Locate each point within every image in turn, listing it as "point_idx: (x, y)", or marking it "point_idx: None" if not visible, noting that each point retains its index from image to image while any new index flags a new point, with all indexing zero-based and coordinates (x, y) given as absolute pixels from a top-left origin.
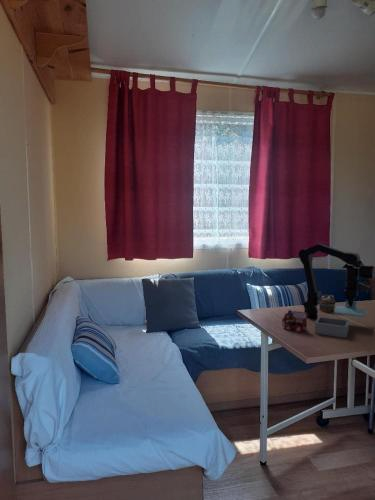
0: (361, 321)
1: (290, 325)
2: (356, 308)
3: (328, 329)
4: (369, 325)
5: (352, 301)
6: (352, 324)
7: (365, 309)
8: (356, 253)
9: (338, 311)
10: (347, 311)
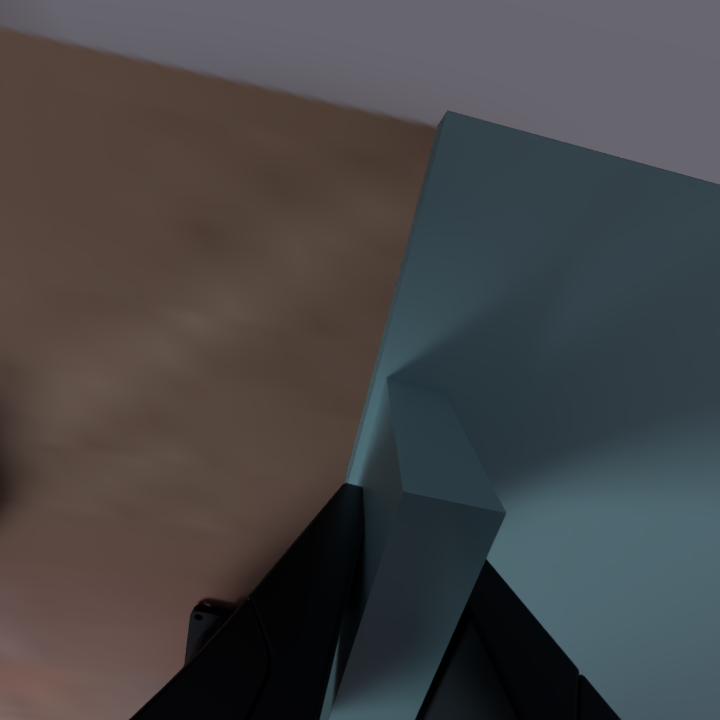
0: (197, 197)
1: None
2: (439, 381)
3: None
4: (360, 123)
5: (557, 673)
6: (368, 333)
7: (513, 150)
8: None
9: (678, 705)
10: (690, 587)
